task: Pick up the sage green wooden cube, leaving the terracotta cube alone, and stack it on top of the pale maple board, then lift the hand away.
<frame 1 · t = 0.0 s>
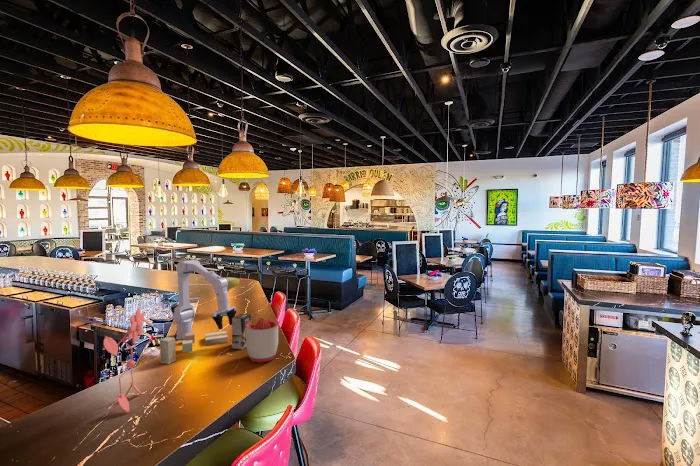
hand: (226, 326, 176), 11 cm above the counter, tool pointing down, fingers open, 7 cm apart
cocktail glass: (225, 314, 234), on the counter
citrus juicer: (261, 357, 163), on the counter
sage cube: (187, 350, 170), on the counter
coffee box: (241, 346, 178), on the counter
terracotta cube: (190, 342, 182), on the counter
pink thin branching piece: (139, 403, 122), on the counter
box: (168, 362, 157), on the counter
maple board: (216, 340, 184), on the counter
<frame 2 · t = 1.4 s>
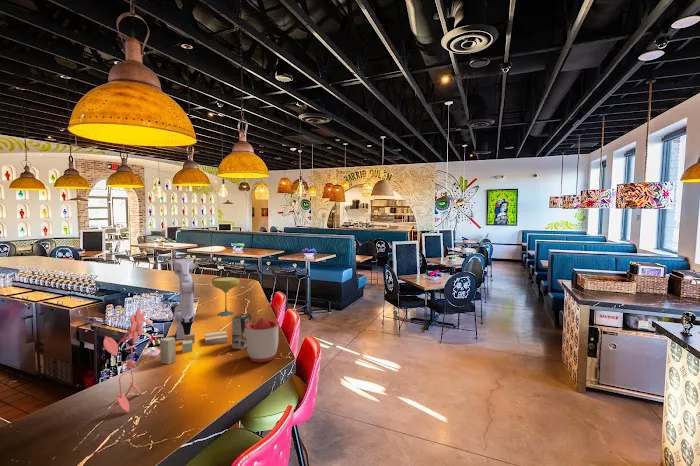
hand: (187, 332, 170), 9 cm above the counter, tool pointing down, fingers open, 7 cm apart
nothing on the counter moved.
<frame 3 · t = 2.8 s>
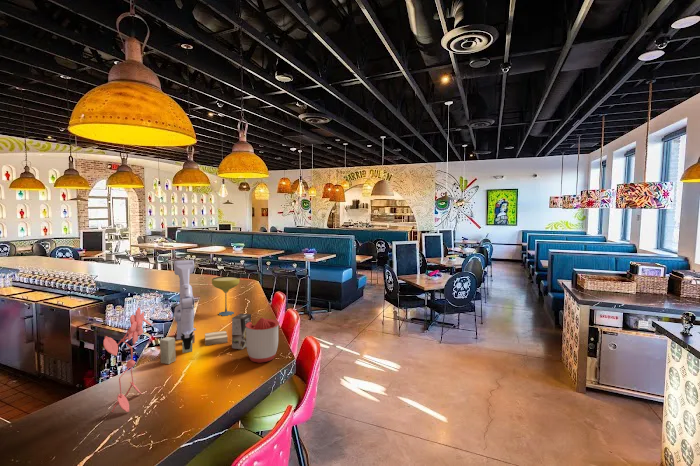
hand: (187, 347, 170), 2 cm above the counter, tool pointing down, fingers closed on sage cube, 4 cm apart
sage cube: (187, 350, 170), on the counter, touching gripper
everything else where it was.
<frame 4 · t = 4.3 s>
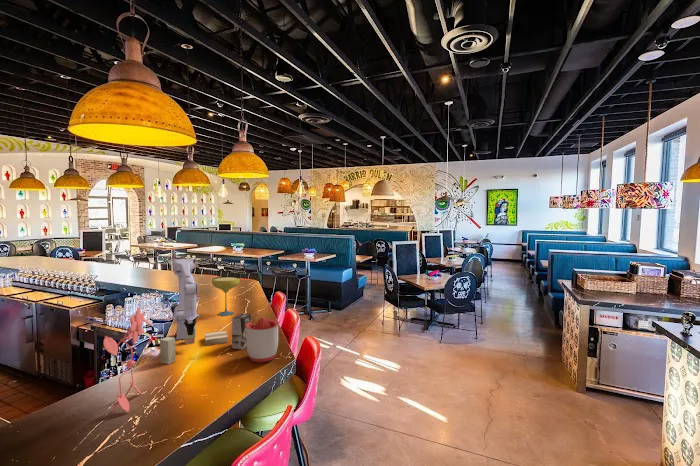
hand: (190, 333, 171), 8 cm above the counter, tool pointing down, fingers closed on sage cube, 4 cm apart
sage cube: (190, 336, 172), point 7 cm above the counter, touching gripper
everything else where it was.
when the fingers open (6 cm above the counter, at t = 6.1 s): sage cube stays where it is, resting on maple board.
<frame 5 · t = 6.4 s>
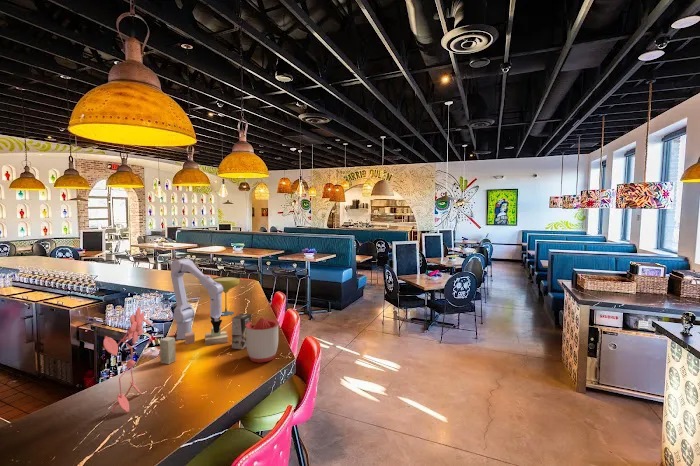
hand: (216, 330, 184), 6 cm above the counter, tool pointing down, fingers open, 7 cm apart
sage cube: (215, 335, 184), point 3 cm above the counter, touching maple board
everything else where it was.
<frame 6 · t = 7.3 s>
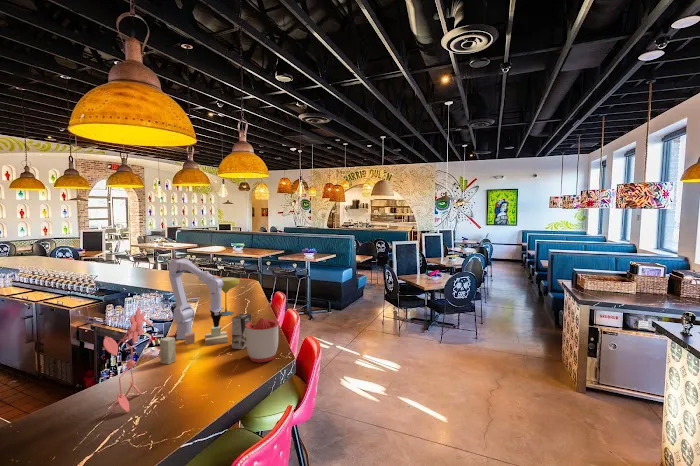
hand: (215, 324, 184), 9 cm above the counter, tool pointing down, fingers open, 7 cm apart
nothing on the counter moved.
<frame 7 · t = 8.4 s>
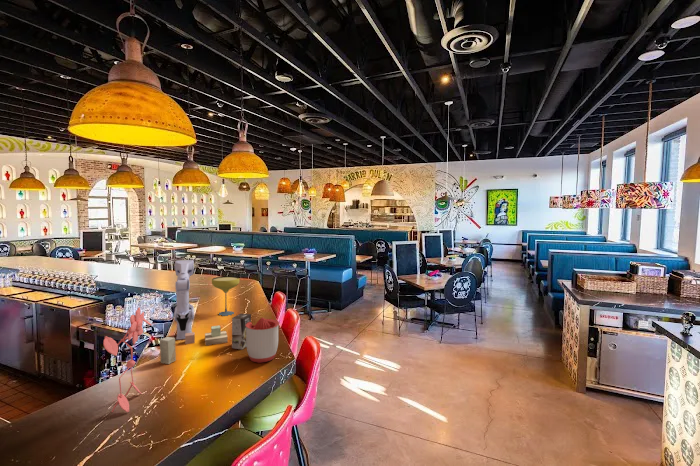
hand: (183, 328, 176), 9 cm above the counter, tool pointing down, fingers open, 7 cm apart
nothing on the counter moved.
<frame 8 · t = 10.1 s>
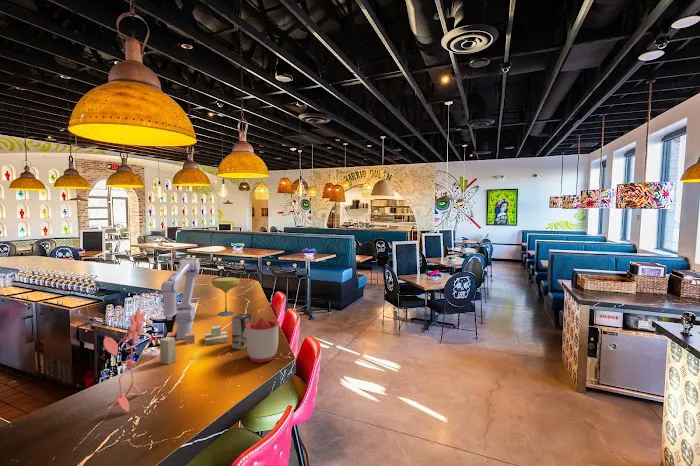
hand: (170, 330, 173), 9 cm above the counter, tool pointing down, fingers open, 7 cm apart
nothing on the counter moved.
at the end: sage cube 0.1 cm off-centre on the maple board, point 3.0 cm above the maple board's base; sage cube tilted 0°; the gripper is holding nothing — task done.
